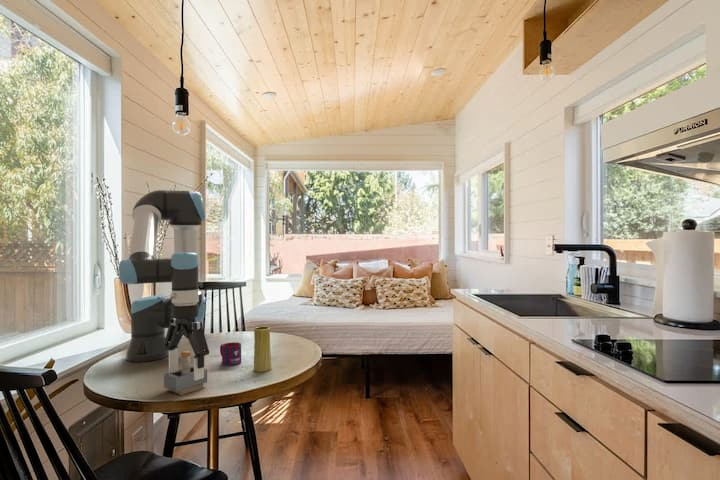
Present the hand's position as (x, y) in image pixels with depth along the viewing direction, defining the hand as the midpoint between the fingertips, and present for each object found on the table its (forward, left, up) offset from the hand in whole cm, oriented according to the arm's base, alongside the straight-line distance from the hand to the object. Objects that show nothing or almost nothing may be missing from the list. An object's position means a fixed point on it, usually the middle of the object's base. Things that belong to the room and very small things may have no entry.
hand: (185, 374), depth 124 cm
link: (0, 0, -3) cm, 3 cm away
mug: (-13, +25, -4) cm, 29 cm away
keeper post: (0, 0, -4) cm, 4 cm away
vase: (+4, +26, -4) cm, 27 cm away
